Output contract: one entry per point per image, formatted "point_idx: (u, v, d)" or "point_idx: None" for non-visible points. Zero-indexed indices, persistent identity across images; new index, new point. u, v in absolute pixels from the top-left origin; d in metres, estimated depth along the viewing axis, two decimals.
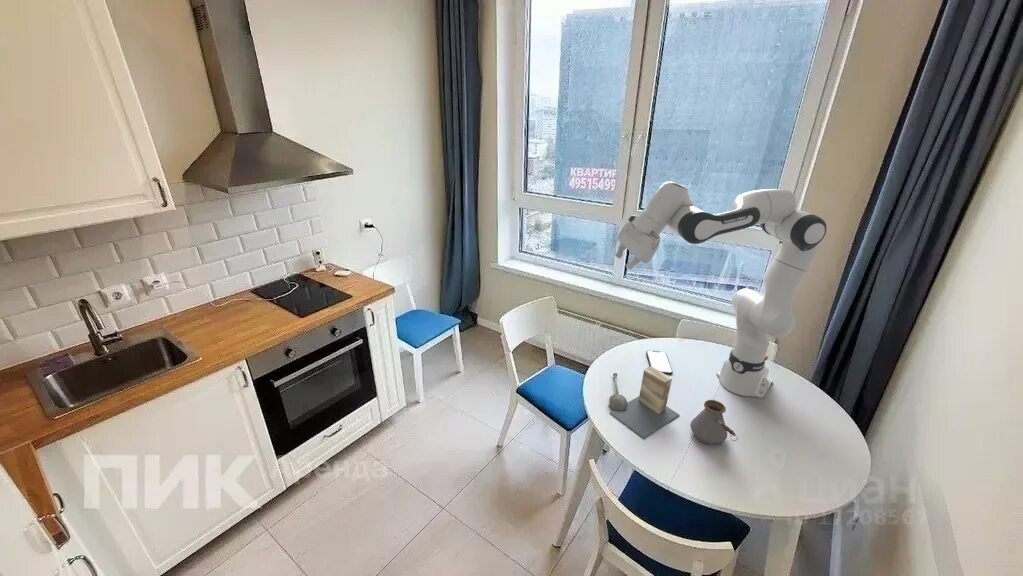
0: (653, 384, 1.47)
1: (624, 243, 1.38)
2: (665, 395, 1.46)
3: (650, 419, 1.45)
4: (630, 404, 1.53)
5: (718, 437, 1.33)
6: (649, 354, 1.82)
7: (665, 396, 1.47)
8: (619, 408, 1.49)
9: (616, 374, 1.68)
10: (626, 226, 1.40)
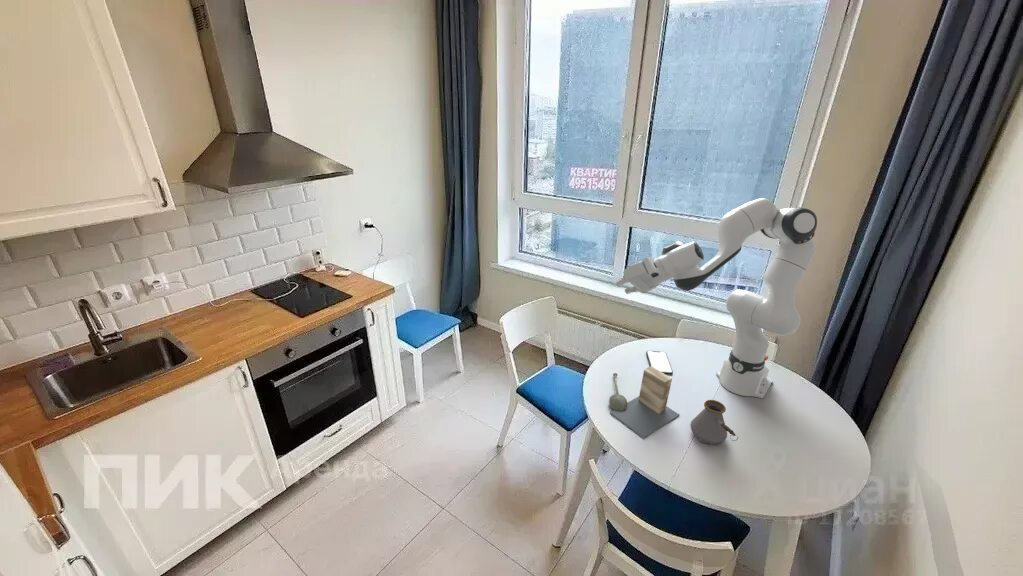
0: (653, 384, 1.47)
1: (634, 284, 1.47)
2: (665, 395, 1.46)
3: (650, 419, 1.45)
4: (630, 404, 1.53)
5: (718, 437, 1.33)
6: (649, 354, 1.82)
7: (665, 396, 1.47)
8: (619, 408, 1.49)
9: (616, 374, 1.68)
10: (643, 274, 1.41)
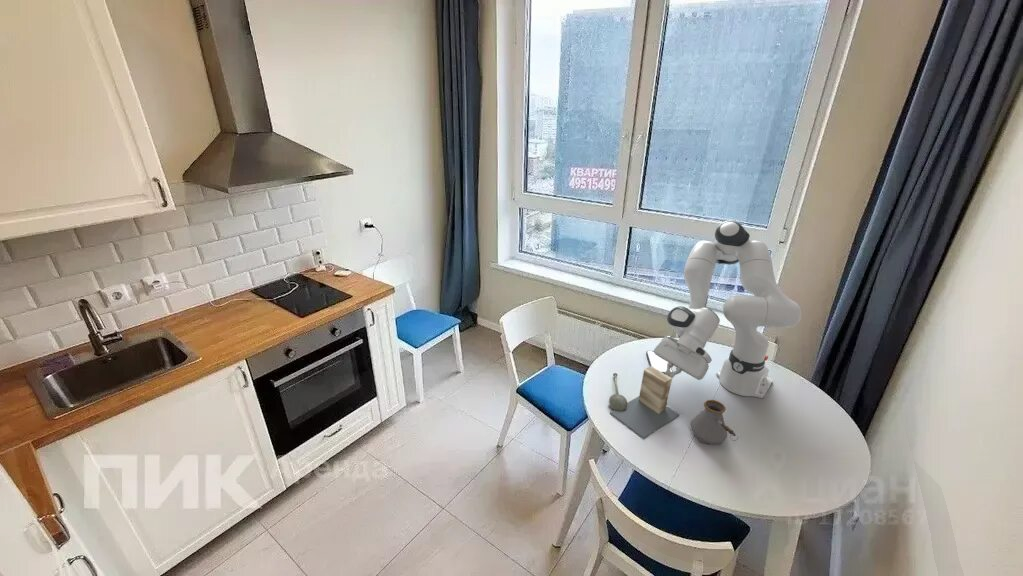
0: (653, 384, 1.47)
1: None
2: (665, 395, 1.46)
3: (650, 419, 1.45)
4: (630, 404, 1.53)
5: (718, 437, 1.33)
6: (649, 354, 1.82)
7: (665, 396, 1.47)
8: (619, 408, 1.49)
9: (616, 374, 1.68)
10: None
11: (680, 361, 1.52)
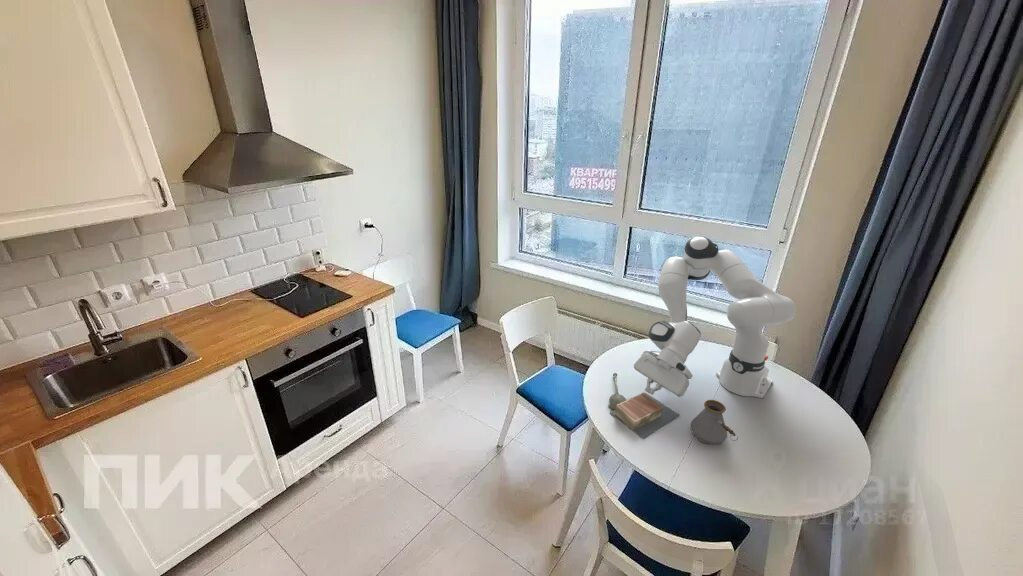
0: None
1: None
2: (646, 420, 1.43)
3: None
4: None
5: (718, 437, 1.33)
6: None
7: (648, 418, 1.43)
8: None
9: (616, 374, 1.68)
10: None
11: (660, 376, 1.47)
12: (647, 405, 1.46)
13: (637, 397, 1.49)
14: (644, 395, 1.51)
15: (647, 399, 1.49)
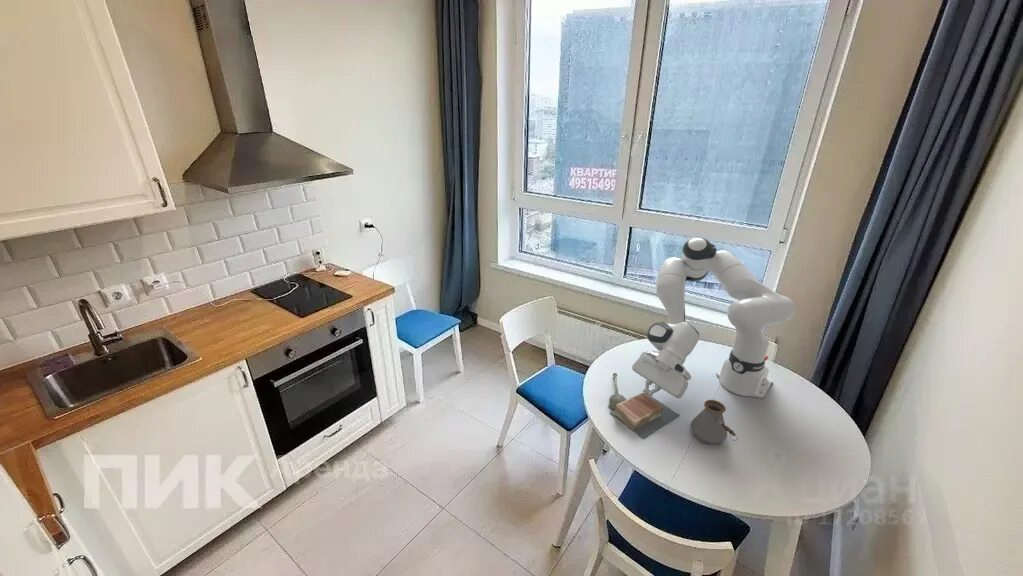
0: None
1: None
2: (646, 420, 1.43)
3: None
4: None
5: (718, 437, 1.33)
6: None
7: (648, 418, 1.43)
8: None
9: (616, 374, 1.68)
10: None
11: (658, 378, 1.46)
12: (647, 405, 1.46)
13: (637, 397, 1.49)
14: (643, 395, 1.51)
15: (647, 399, 1.49)
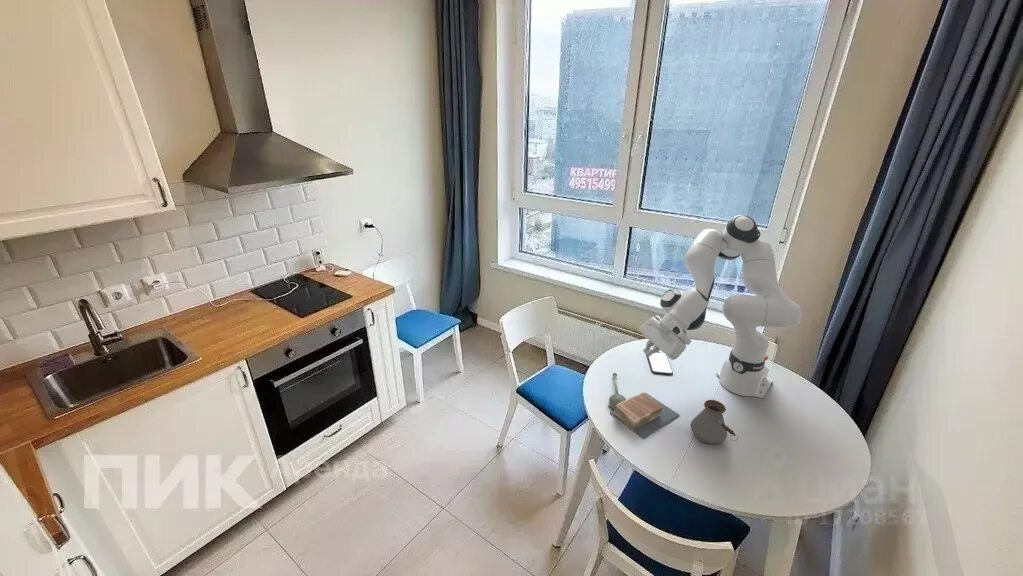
0: None
1: None
2: (646, 419, 1.43)
3: None
4: None
5: (718, 437, 1.33)
6: None
7: (648, 418, 1.43)
8: None
9: (616, 374, 1.68)
10: None
11: (658, 339, 1.49)
12: (646, 405, 1.46)
13: (636, 397, 1.49)
14: (643, 395, 1.51)
15: (646, 399, 1.49)
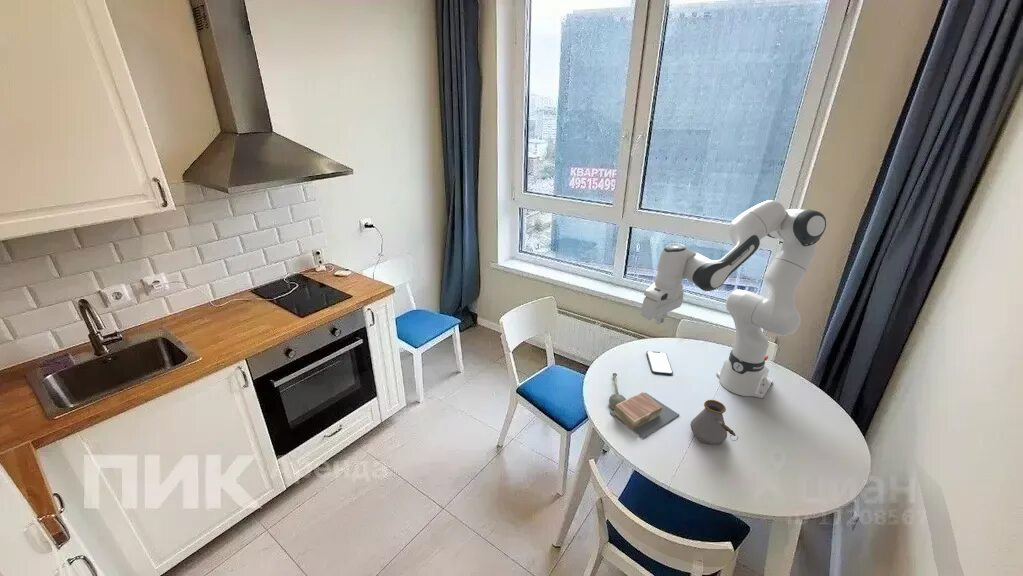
0: None
1: (661, 313, 1.46)
2: (646, 419, 1.43)
3: None
4: None
5: (718, 437, 1.33)
6: (649, 355, 1.82)
7: (648, 417, 1.43)
8: None
9: (615, 374, 1.68)
10: (656, 305, 1.41)
11: None
12: (646, 405, 1.46)
13: (636, 397, 1.50)
14: (643, 394, 1.51)
15: (646, 399, 1.49)
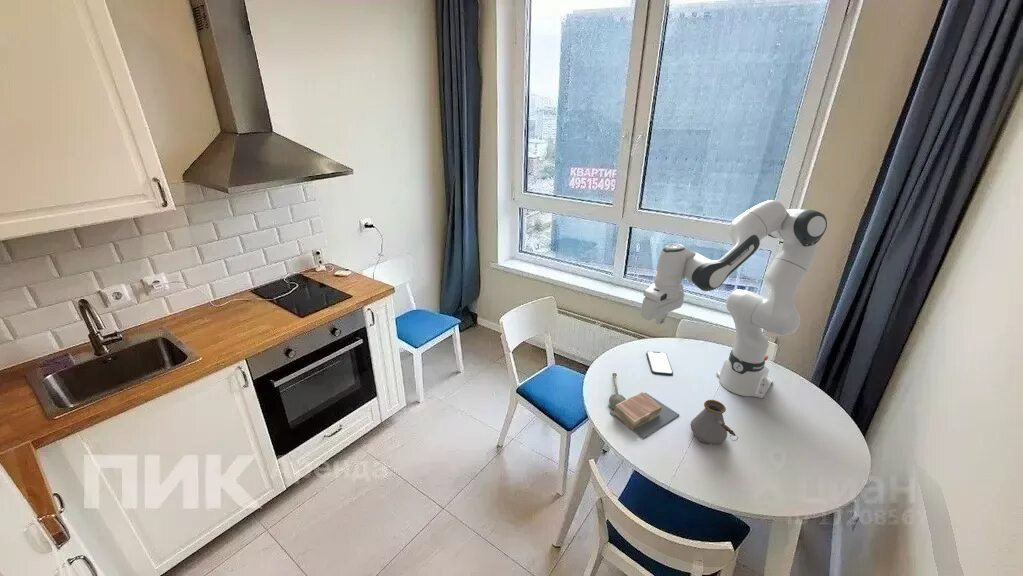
0: None
1: (661, 314, 1.46)
2: (646, 419, 1.43)
3: None
4: None
5: (718, 437, 1.33)
6: (649, 355, 1.82)
7: (647, 417, 1.43)
8: None
9: (615, 374, 1.68)
10: (655, 306, 1.41)
11: None
12: (646, 404, 1.46)
13: (636, 397, 1.50)
14: (642, 394, 1.51)
15: (646, 398, 1.49)
